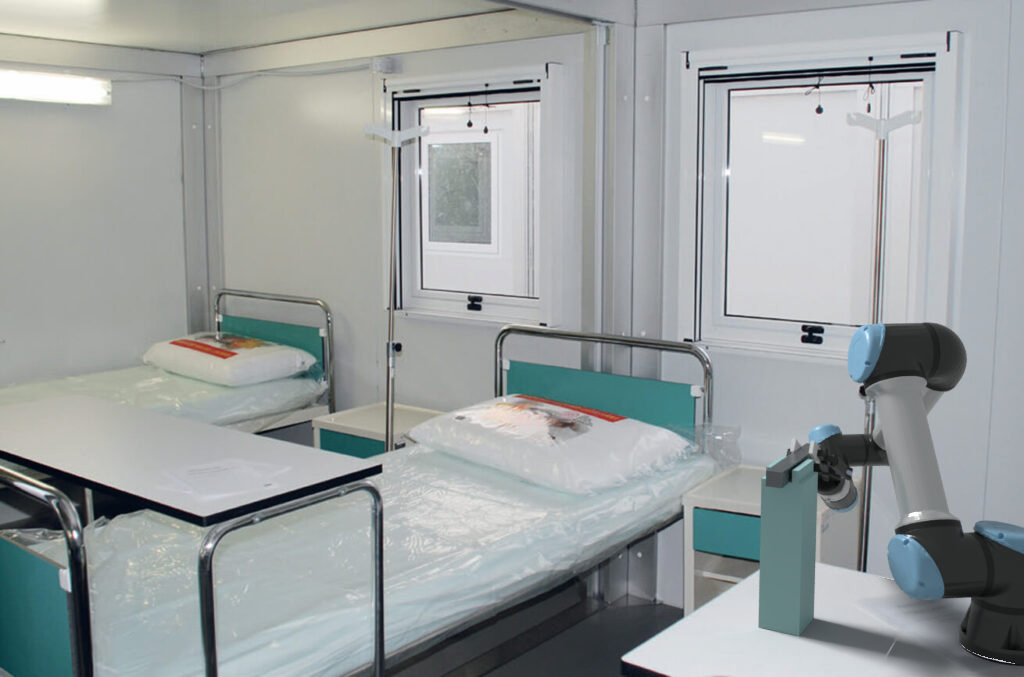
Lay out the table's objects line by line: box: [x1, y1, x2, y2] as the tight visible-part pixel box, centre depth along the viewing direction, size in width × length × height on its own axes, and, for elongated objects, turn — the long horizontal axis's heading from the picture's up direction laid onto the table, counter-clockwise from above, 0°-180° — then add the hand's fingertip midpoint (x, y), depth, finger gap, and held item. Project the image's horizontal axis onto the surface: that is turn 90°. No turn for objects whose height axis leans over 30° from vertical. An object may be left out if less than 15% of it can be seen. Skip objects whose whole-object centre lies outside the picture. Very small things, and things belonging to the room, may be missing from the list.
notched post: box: [757, 455, 818, 637], centre depth 195 cm, size 10×8×32 cm
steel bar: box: [765, 442, 821, 488], centre depth 196 cm, size 26×3×3 cm, turn 147°
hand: (802, 446), depth 200 cm, fingers closed on steel bar, 3 cm apart
